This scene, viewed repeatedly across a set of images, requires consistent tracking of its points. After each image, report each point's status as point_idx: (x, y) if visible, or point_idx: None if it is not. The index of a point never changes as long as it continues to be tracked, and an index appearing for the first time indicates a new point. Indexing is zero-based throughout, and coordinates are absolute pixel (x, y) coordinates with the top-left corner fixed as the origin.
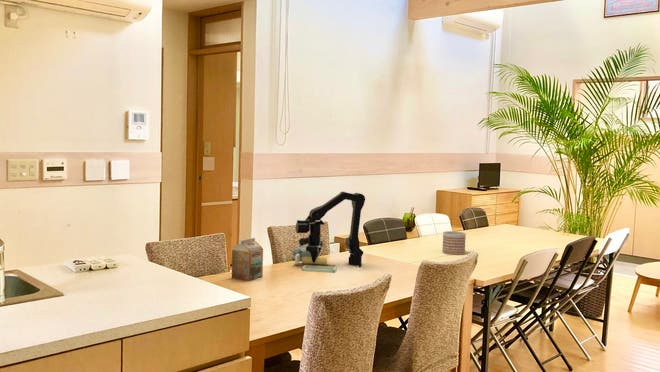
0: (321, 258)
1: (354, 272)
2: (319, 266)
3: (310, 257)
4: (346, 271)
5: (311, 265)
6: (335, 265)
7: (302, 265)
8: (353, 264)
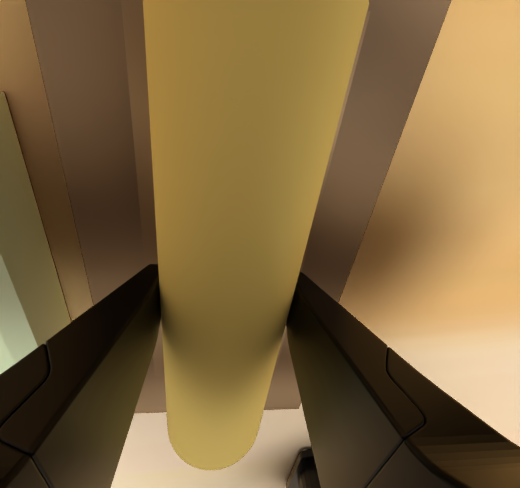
0: (191, 425)
1: None
2: (8, 346)
3: (210, 268)
4: (120, 457)
5: (145, 218)
6: (274, 408)
7: (126, 26)
8: (304, 479)
